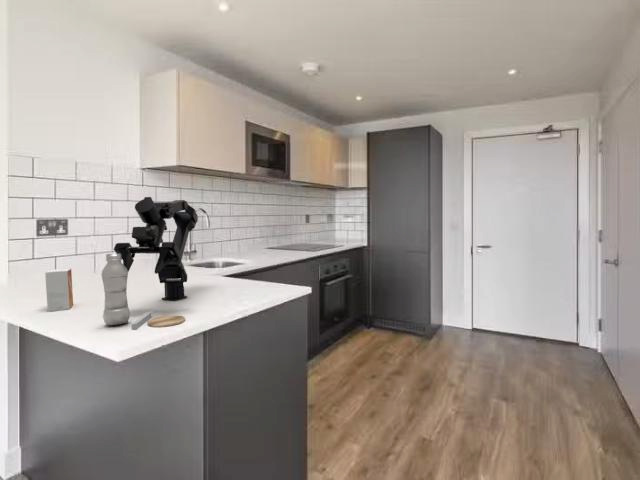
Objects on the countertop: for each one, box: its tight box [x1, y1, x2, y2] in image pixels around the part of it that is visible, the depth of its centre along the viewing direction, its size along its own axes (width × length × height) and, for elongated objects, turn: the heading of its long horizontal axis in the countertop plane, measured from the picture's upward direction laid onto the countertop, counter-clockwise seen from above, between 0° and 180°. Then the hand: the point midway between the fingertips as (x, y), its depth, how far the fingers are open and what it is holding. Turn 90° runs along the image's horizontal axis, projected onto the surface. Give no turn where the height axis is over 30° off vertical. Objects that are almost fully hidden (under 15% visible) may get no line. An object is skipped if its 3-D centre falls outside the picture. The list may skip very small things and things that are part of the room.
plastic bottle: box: [101, 253, 131, 326], centre depth 106 cm, size 6×7×20 cm
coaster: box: [146, 314, 186, 328], centre depth 108 cm, size 10×10×1 cm
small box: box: [44, 268, 74, 312], centre depth 128 cm, size 8×6×13 cm
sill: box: [131, 312, 153, 331], centre depth 107 cm, size 12×1×2 cm, turn 6°
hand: (140, 273), depth 113 cm, fingers open, 9 cm apart
